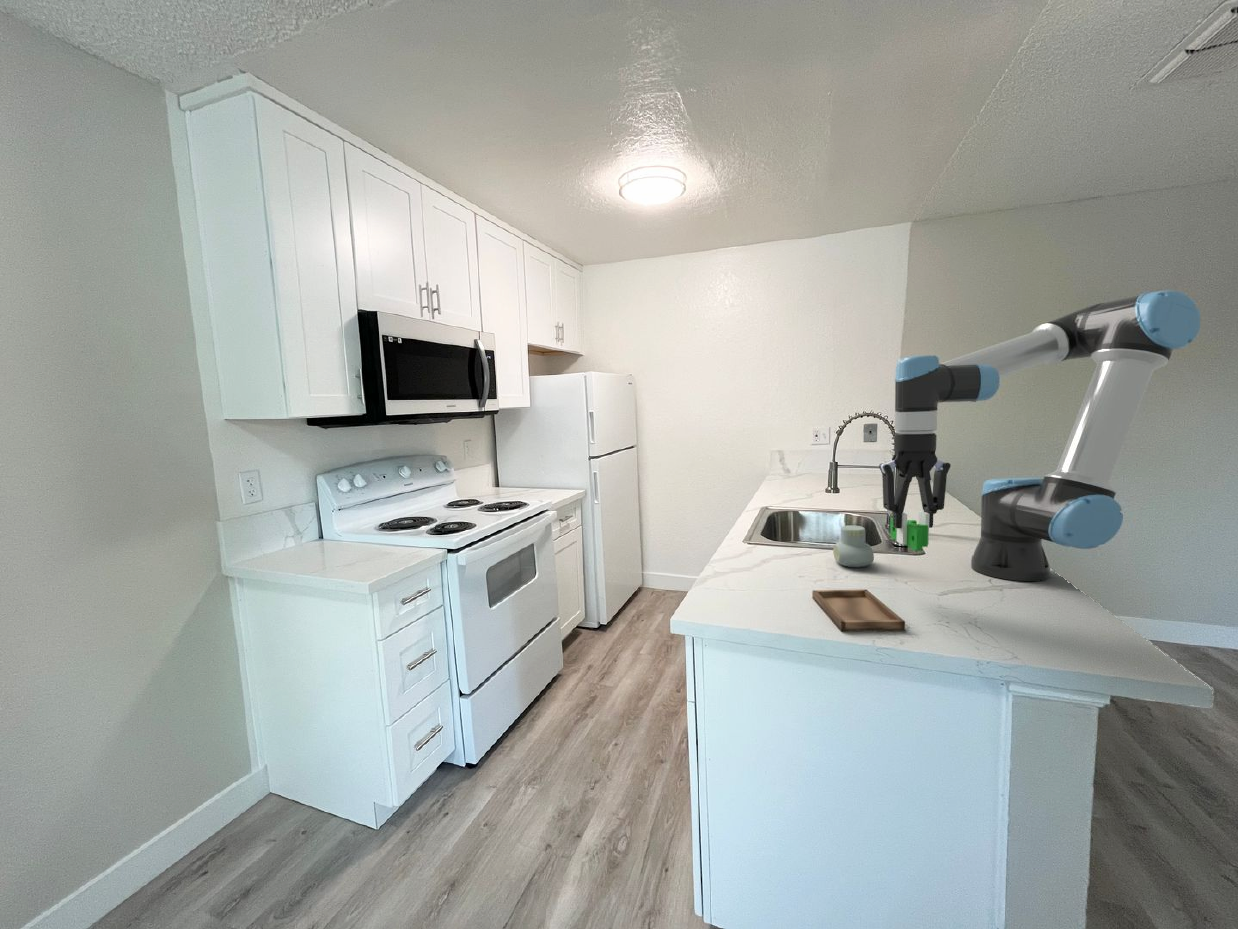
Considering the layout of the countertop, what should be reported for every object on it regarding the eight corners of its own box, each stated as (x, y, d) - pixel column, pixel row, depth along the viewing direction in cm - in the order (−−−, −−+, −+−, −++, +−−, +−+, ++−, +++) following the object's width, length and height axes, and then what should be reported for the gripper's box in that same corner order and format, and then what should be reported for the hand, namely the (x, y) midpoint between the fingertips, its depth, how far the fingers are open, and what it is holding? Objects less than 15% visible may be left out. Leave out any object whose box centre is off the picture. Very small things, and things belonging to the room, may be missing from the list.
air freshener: (831, 558, 138) (831, 522, 136) (863, 558, 136) (864, 523, 135) (841, 570, 127) (841, 532, 126) (875, 571, 125) (876, 533, 124)
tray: (866, 597, 109) (866, 589, 109) (904, 630, 92) (905, 621, 92) (812, 598, 110) (812, 590, 109) (840, 631, 93) (841, 622, 93)
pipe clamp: (935, 551, 99) (936, 528, 99) (916, 551, 100) (917, 529, 99) (907, 536, 111) (907, 516, 110) (890, 537, 111) (890, 517, 110)
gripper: (946, 430, 105) (943, 537, 108) (865, 432, 107) (863, 539, 109) (969, 431, 98) (964, 547, 101) (881, 434, 99) (879, 548, 102)
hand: (912, 542), depth 105 cm, fingers closed on pipe clamp, 4 cm apart
